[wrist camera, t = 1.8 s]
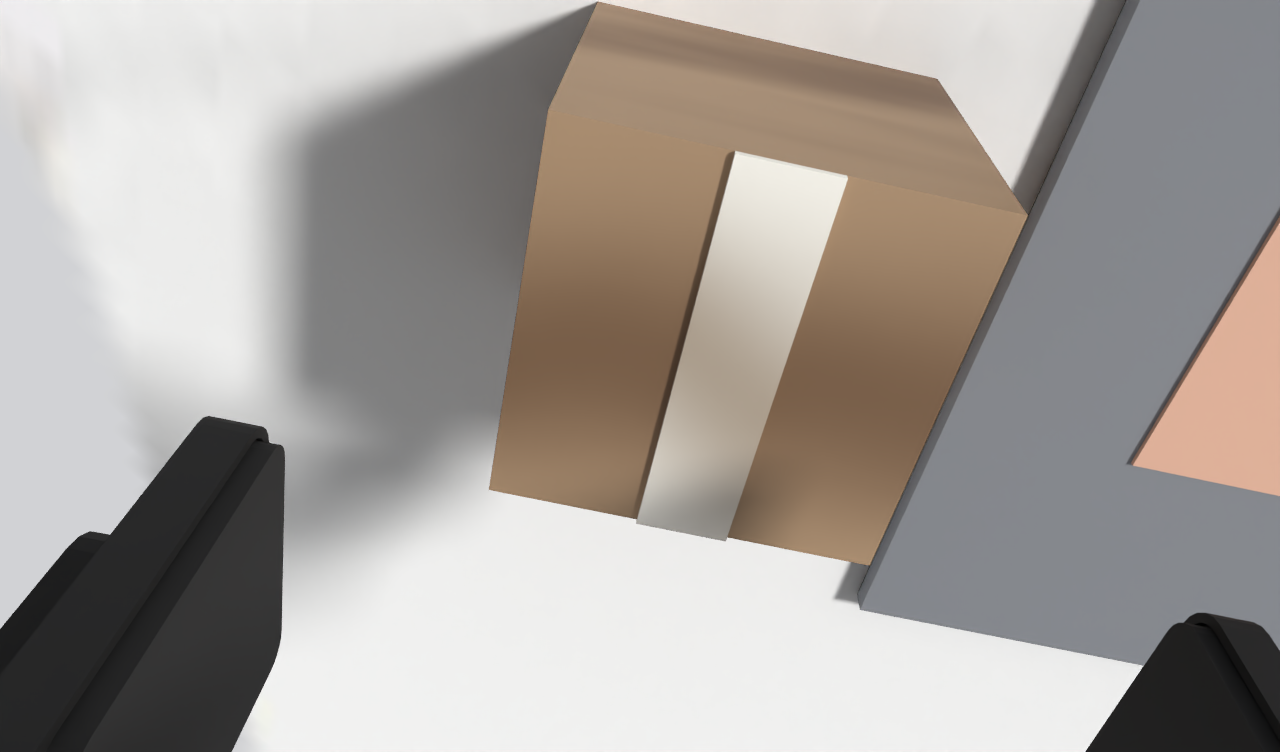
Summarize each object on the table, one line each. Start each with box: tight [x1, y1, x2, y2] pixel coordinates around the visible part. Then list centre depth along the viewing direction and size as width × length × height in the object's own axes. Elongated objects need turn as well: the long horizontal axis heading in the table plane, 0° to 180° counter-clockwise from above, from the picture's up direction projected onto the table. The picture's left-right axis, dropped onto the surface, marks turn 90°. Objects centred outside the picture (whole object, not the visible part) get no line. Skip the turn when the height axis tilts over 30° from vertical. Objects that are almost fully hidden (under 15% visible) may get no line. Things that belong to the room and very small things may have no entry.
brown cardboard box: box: [489, 2, 1028, 566], centre depth 16 cm, size 6×6×6 cm
